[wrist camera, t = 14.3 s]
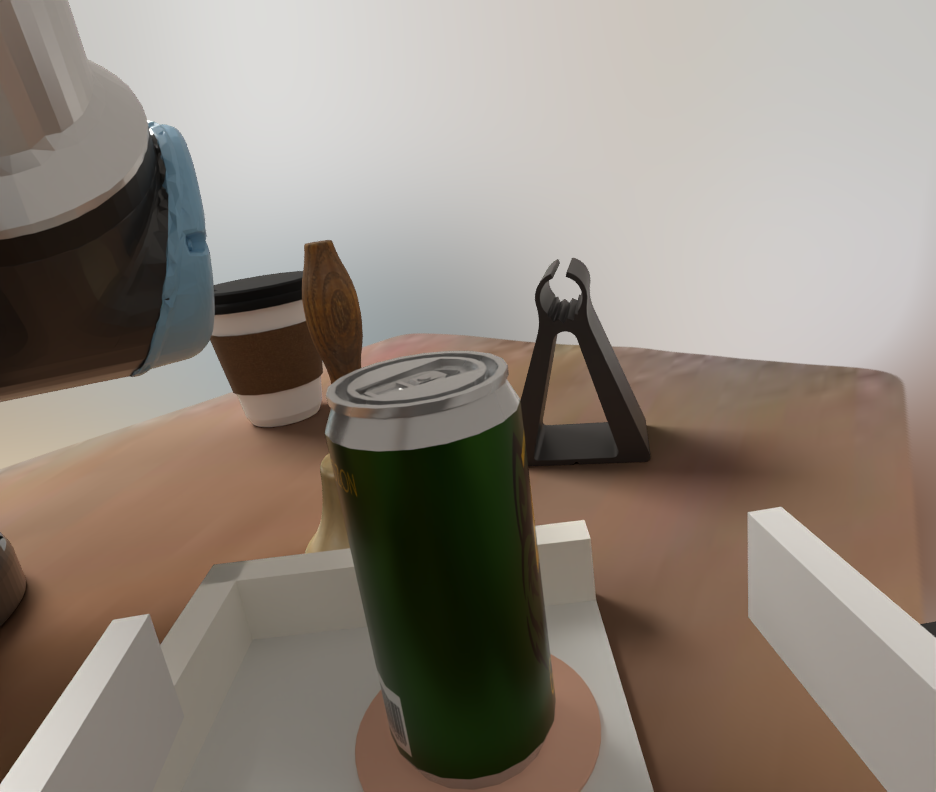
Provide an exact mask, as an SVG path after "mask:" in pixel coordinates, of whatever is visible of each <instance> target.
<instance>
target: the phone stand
mask: <svg viewBox="0 0 936 792" xmlns="http://www.w3.org/2000/svg"><path fill="white" fill-rule="evenodd" d="M559 264H560V262H559V260H558V259H557V260H556V261H554V262H553V263H552V264H551V265H550V266H549V268H548V269H547V271H546V273H545V275H544V276H543V278H542V280H541V281H540V283H539V285H538V287H537V289H536V293H535V302H536V306H537V310H538V315H539V330H538V335H537V339H536V343H535V346H534V350H533V354H532V358H531V362H530V366H529V370H528V374H527V378H526V382H525V386H524V390H523V394H522V397H521V401H520V402H521V410H522V419H523V427H524V436H525V444H526V453H527V461H528V466H551V465H574V463H575V462H579V464H602V463H627V462H647V461H648V460H649V459H650V449H649V442H648V434H647V427H646V420H645V417H644V415H643V413H642V411H641V409H640V406H639V404H638V402H637V400H636V398H635V396H634V394H633V391H632V389H631V387H630V385H629V383H628V381H627V379H626V376H625V374H624V372H623V370H622V368H621V366H620V364H619V361H618V359H617V357H616V355H615V353H614V351H613V349H612V346H611V344H610V342H609V340H608V338H607V336H606V334H605V331H604V329H603V327H602V325H601V323H600V321H599V319H598V316H597V314H596V312H595V310H594V308H593V305H592V302H591V299H590V274H589V271H588V269H587V267H586V266H585V265H584V264H583V263H582V262H581V261H580V260H578V259H576V258H572V260H571V263H570V265H569V268H568V270H567V274H566V277H568V278H570V279H572V280H574V281H575V282H576V283H577V284H578V285H579V287H580V289H581V291H582V293H581V295H579V298H578V300H575V299H573V298H572V300H571V301H570V303H569V302H568V301H567V300H566V299H564V300H563V301H561V302H560V300H559V298H558V297H555V294H554V293H553V292H552V290H551V288H550V286H549V280H550V279H552V278H553V276H554V274H555V272H556V270H557V268H558V266H559ZM563 331H568V332H571V333H573V334H574V335H575V336H576V338H577V340H578V343H579V345H580V348H581V351H582V353H583V356H584V359H585V362H586V364H587V367H588V370H589V372H590V375H591V378H592V381H593V383H594V386H595V389H596V391H597V394H598V397H599V400H600V402H601V405H602V408H603V410H604V413H605V416H606V419H607V421H608V422H603V423H584V424H565V425H544V424H543V416H544V410H545V404H546V398H547V392H548V386H549V380H550V374H551V368H552V362H553V357H554V351H555V345H556V339H557V334H558V333H560V332H563Z"/></svg>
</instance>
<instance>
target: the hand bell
mask: <svg viewBox="0 0 936 792" xmlns="http://www.w3.org/2000/svg"><path fill="white" fill-rule="evenodd" d="M304 251H305V256H304V270H303V279H302V302H303V308H304V313H305V318H306V322H307V326H308V329H309V332H310V335H311V338H312V341H313V343H314V345H315V347H316V350H317V351H318V353H319V355H320V357H321V359H322V361H323V362H324V364H325V366H326V369H327V371H328V374H329V377H330V380H331V384H333V383H334V382H335V381H336V380H337V379H339V378H341V377H343V376H345V375H347V374H349V373H351V372H353V371H355V370H358V369H361V351H362V337H363V334H362V319H361V312H360V307H359V302H358V297H357V294H356V291H355V288H354V285H353V283H352V280H351V279H350V276H349V274H348V272H347V270H346V269H345V267H344V265H343V264H342V262H341V260H340V258H339V256H338V254H337V252H336V250H335V247H334V245H333V243H332V241H331V240H325V241H319V242H312V243H307V244H305V245H304ZM320 473H321V480H322V494H323V507H322V517H321V522H320V525H319V528H318V530H317V533H316V534H315V535H314V536H313V537H312V539H311V541H310V542H309V544H308V546H307V549H306V552H305V554H307V553H315V552H323V551H332V550H340V549H348V548H350V545H349V541H348V536H347V532H346V527H345V523H344V518H343V513H342V509H341V504H340V500H339V495H338V491H337V486H336V482H335V477H334V473H333V468H332V463H331V459H330V454H327V455H326V456H325V458H324V459H323V460H322V463H321V466H320Z"/></svg>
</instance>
